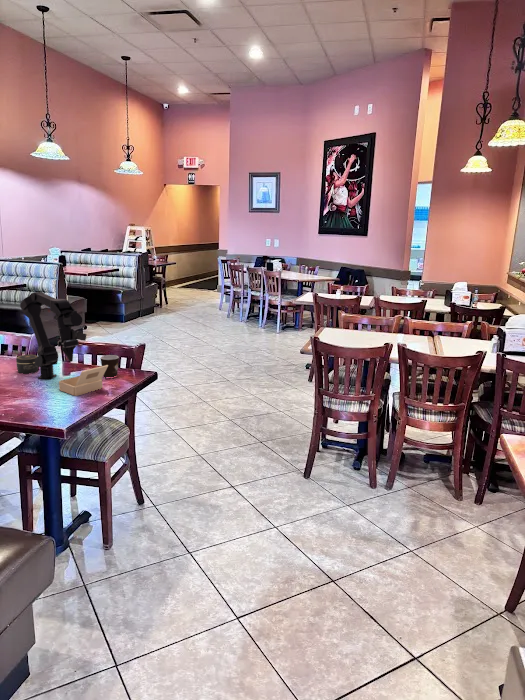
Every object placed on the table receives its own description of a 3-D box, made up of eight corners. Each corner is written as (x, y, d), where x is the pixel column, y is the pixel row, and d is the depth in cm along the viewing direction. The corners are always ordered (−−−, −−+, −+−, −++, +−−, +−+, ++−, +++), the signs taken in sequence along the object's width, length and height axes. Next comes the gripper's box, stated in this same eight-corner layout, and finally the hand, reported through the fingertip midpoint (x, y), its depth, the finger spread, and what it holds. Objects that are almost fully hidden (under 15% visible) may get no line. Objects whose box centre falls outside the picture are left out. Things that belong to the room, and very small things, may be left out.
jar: (16, 369, 251) (15, 355, 249) (38, 368, 256) (37, 353, 254) (17, 375, 242) (16, 360, 240) (40, 373, 247) (39, 358, 245)
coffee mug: (108, 380, 240) (107, 360, 238) (97, 376, 245) (96, 357, 243) (128, 375, 249) (127, 356, 247) (117, 372, 254) (116, 353, 252)
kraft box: (58, 390, 224) (57, 381, 223) (86, 382, 236) (86, 374, 235) (74, 396, 217) (74, 387, 216) (103, 388, 229) (103, 379, 228)
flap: (75, 385, 216) (81, 371, 212) (100, 378, 227) (107, 364, 222) (76, 386, 216) (82, 372, 212) (101, 379, 227) (108, 365, 222)
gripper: (87, 324, 221) (93, 359, 223) (79, 325, 237) (85, 357, 239) (61, 328, 216) (67, 363, 217) (54, 329, 232) (60, 361, 233)
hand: (71, 361), depth 227 cm, fingers closed
